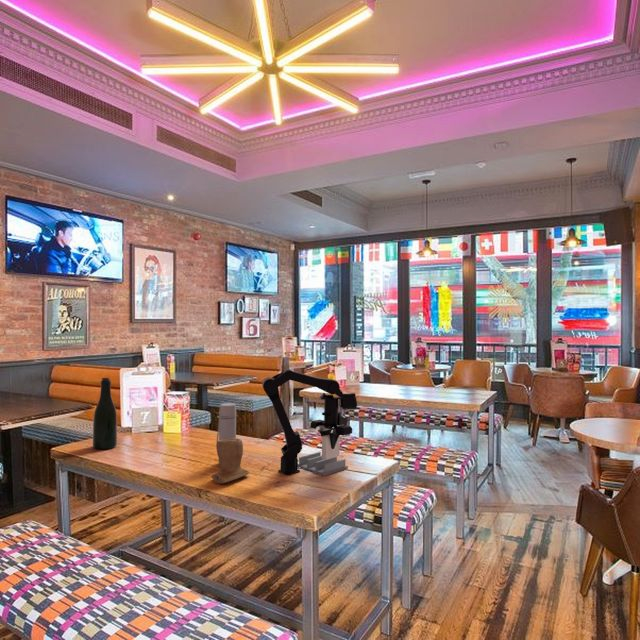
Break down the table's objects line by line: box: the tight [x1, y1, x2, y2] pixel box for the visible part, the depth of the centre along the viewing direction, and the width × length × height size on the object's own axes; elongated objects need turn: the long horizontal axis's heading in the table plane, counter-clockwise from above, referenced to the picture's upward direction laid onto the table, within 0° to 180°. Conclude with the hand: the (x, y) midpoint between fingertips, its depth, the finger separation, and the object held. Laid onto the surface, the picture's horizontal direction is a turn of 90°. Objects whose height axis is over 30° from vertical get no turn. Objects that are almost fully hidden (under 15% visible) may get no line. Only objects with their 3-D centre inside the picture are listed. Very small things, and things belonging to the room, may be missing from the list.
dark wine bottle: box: [92, 377, 118, 451], centre depth 221 cm, size 10×10×33 cm
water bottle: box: [215, 402, 237, 465], centre depth 198 cm, size 9×8×25 cm
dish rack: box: [298, 451, 349, 476], centre depth 194 cm, size 14×16×4 cm
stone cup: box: [210, 438, 250, 485], centre depth 179 cm, size 15×12×15 cm
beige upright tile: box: [321, 435, 341, 460], centre depth 191 cm, size 8×2×9 cm, turn 136°
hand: (330, 448), depth 191 cm, fingers closed on beige upright tile, 2 cm apart
